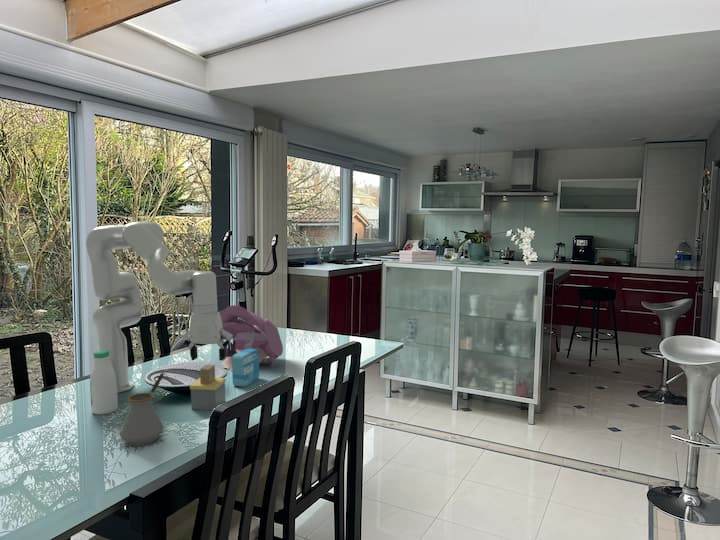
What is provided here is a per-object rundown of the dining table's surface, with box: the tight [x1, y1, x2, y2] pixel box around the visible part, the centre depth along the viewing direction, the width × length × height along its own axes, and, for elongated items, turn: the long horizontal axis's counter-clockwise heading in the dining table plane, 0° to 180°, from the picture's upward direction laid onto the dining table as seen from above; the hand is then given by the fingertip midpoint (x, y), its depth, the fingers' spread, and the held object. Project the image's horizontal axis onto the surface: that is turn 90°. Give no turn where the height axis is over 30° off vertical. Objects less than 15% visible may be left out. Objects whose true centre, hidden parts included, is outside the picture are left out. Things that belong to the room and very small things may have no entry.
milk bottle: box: [89, 350, 119, 415], centre depth 167 cm, size 8×8×20 cm
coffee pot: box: [119, 372, 168, 447], centre depth 151 cm, size 21×12×15 cm, turn 177°
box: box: [190, 381, 226, 411], centre depth 173 cm, size 8×8×7 cm
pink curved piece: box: [218, 305, 284, 371], centre depth 217 cm, size 35×24×28 cm
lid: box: [189, 364, 227, 390], centre depth 172 cm, size 9×9×7 cm
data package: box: [231, 348, 260, 388], centre depth 195 cm, size 12×4×12 cm, turn 161°
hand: (208, 359), depth 171 cm, fingers open, 9 cm apart
